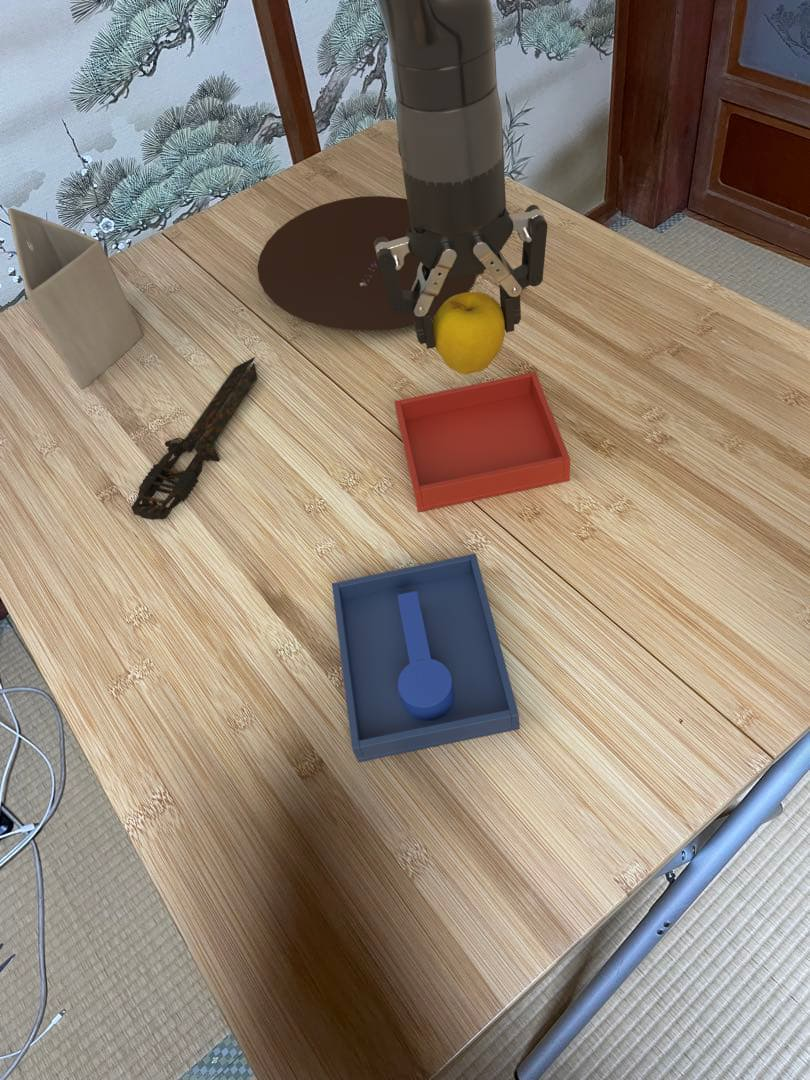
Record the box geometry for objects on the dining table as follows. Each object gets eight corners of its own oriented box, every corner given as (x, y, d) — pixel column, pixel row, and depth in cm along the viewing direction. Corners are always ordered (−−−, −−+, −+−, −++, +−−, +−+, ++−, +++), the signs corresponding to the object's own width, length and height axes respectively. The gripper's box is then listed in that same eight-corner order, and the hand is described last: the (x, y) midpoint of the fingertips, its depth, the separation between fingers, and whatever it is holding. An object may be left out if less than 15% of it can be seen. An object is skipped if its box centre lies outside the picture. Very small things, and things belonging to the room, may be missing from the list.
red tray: (535, 393, 90) (535, 371, 88) (569, 480, 82) (570, 459, 79) (398, 422, 90) (394, 400, 88) (418, 512, 82) (414, 491, 80)
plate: (442, 354, 96) (439, 328, 93) (229, 332, 105) (220, 307, 102) (502, 219, 112) (501, 193, 109) (312, 209, 120) (307, 185, 117)
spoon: (386, 612, 74) (382, 597, 73) (434, 602, 74) (431, 587, 73) (406, 725, 67) (402, 712, 66) (459, 714, 67) (456, 700, 66)
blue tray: (477, 570, 77) (475, 553, 75) (519, 729, 67) (518, 714, 65) (337, 599, 77) (331, 583, 75) (358, 762, 67) (352, 749, 65)
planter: (143, 375, 102) (72, 231, 86) (79, 390, 101) (-3, 249, 86) (144, 298, 112) (81, 158, 97) (86, 311, 112) (14, 173, 97)
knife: (246, 359, 101) (243, 350, 100) (291, 369, 98) (288, 360, 97) (119, 510, 88) (114, 502, 87) (167, 526, 85) (163, 518, 84)
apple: (428, 385, 76) (417, 313, 70) (449, 340, 80) (441, 268, 73) (495, 394, 74) (490, 321, 68) (515, 348, 78) (512, 274, 71)
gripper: (362, 197, 59) (396, 378, 72) (561, 155, 59) (559, 343, 72) (350, 148, 64) (383, 326, 76) (535, 108, 63) (537, 293, 76)
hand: (468, 334), depth 74 cm, fingers closed on apple, 6 cm apart
